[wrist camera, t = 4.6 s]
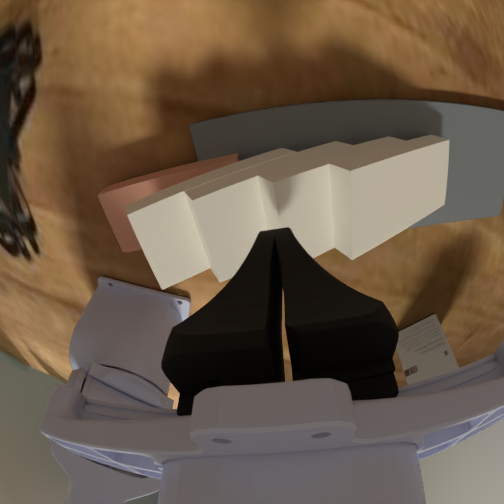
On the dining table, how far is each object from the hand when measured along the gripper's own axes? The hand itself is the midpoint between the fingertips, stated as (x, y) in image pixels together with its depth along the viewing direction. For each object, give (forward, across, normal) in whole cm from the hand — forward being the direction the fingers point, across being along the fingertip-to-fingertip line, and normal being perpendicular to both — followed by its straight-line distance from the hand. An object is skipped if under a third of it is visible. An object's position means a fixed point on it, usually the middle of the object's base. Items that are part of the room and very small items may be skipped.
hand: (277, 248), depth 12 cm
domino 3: (+7, -9, 0) cm, 11 cm away
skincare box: (+9, -15, +21) cm, 27 cm away
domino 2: (+7, -5, 0) cm, 9 cm away
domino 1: (+7, -2, 0) cm, 7 cm away
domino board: (+8, -9, 0) cm, 12 cm away
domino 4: (+7, -12, 0) cm, 14 cm away
